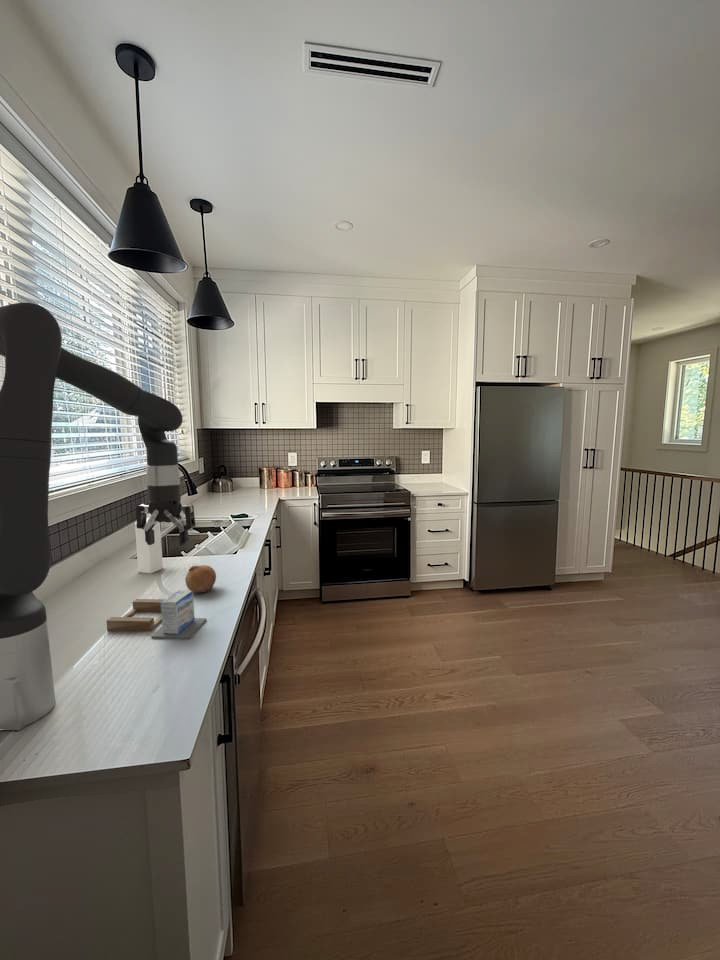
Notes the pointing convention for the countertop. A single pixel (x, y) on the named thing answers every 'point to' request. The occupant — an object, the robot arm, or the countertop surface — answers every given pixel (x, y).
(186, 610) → the medicine box
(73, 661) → the countertop surface
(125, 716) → the countertop surface
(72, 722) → the countertop surface
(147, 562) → the milk
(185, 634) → the mat
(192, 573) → the onion
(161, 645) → the countertop surface
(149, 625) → the frame
